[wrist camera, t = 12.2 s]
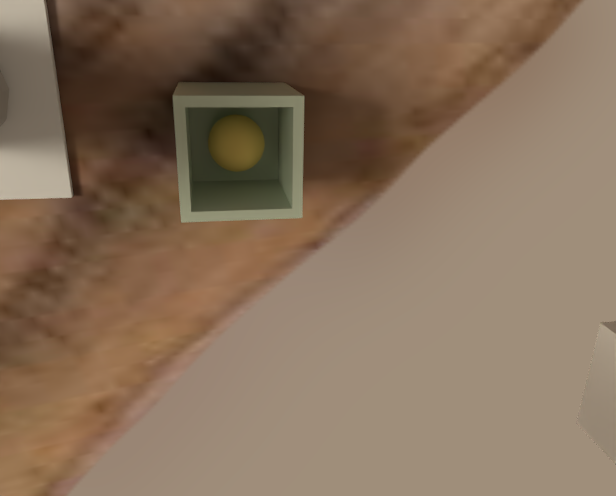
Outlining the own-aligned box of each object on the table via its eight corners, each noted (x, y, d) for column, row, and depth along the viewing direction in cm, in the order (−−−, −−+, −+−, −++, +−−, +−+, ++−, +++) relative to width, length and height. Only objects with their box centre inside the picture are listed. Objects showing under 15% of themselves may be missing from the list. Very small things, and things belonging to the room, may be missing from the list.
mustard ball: (206, 110, 36) (206, 119, 33) (261, 110, 37) (267, 118, 33) (208, 165, 37) (209, 178, 34) (262, 164, 38) (267, 177, 35)
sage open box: (178, 81, 36) (172, 95, 29) (284, 82, 37) (304, 95, 30) (185, 185, 39) (180, 222, 31) (284, 183, 40) (302, 217, 33)
